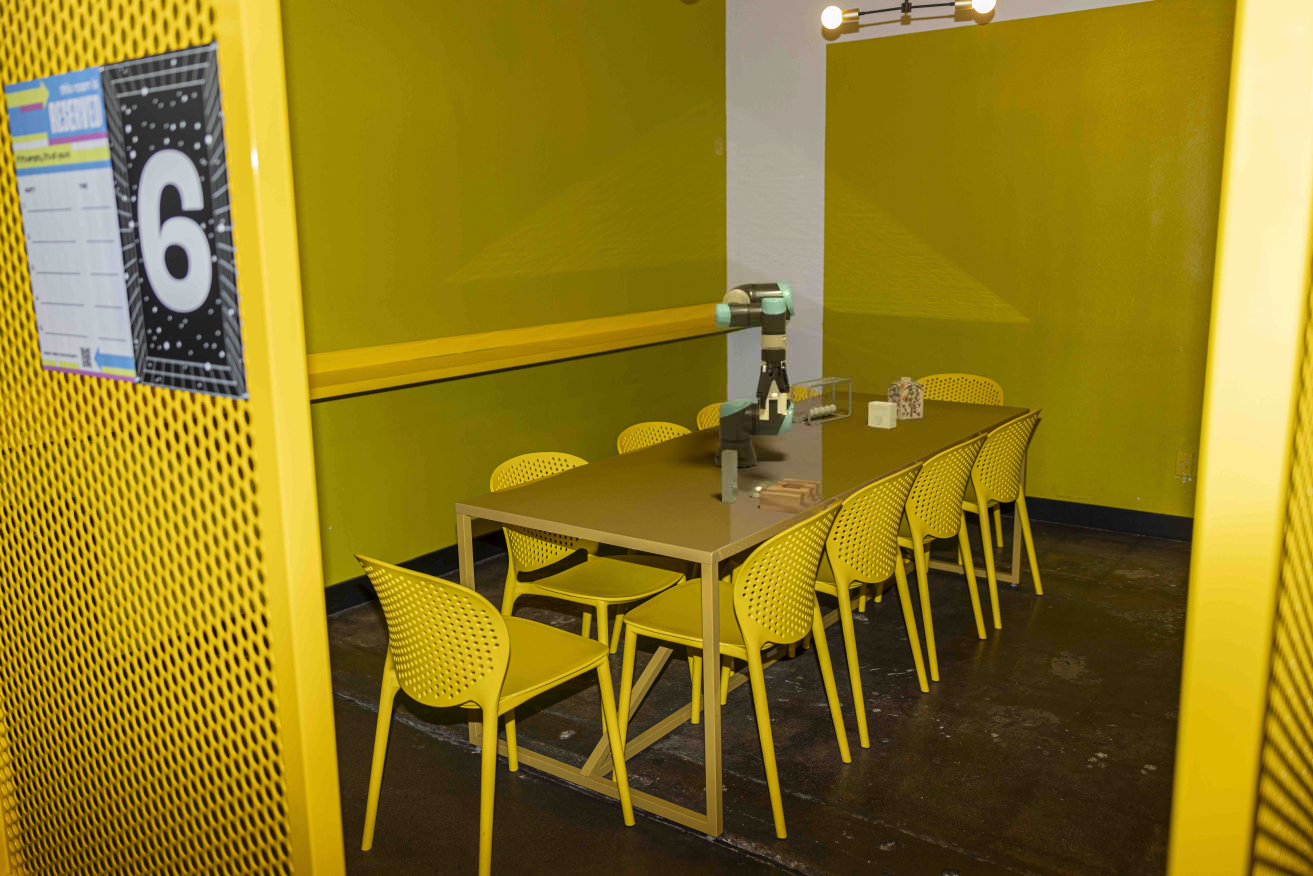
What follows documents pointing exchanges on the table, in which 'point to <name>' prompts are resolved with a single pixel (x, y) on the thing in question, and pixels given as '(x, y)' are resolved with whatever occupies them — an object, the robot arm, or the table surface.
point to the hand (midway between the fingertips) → (773, 416)
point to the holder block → (790, 495)
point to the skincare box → (882, 414)
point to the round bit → (760, 488)
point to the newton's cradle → (826, 409)
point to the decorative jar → (907, 398)
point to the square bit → (729, 476)
